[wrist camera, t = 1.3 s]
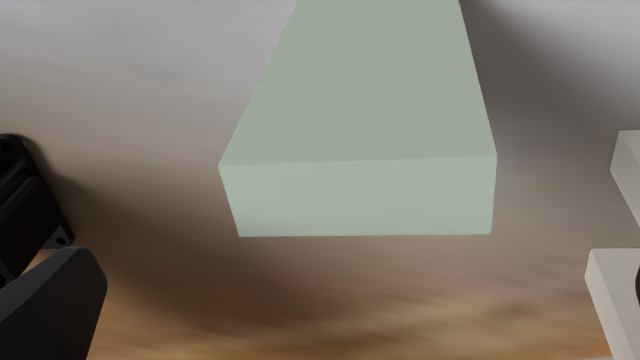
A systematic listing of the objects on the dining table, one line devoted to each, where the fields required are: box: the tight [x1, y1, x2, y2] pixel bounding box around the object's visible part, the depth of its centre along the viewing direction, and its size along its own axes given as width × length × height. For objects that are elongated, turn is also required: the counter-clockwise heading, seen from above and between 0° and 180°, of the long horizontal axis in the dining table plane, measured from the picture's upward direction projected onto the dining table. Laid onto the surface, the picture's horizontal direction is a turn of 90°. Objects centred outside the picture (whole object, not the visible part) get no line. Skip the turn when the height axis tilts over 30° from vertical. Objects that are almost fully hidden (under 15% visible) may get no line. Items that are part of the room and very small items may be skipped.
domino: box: [218, 0, 497, 237], centre depth 14 cm, size 2×5×10 cm, turn 97°
